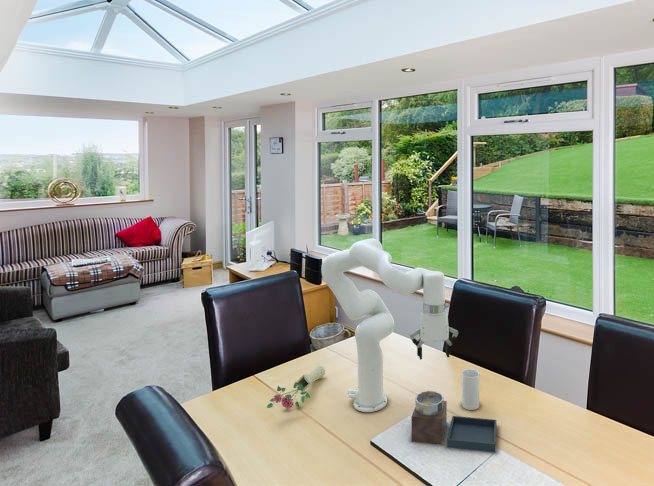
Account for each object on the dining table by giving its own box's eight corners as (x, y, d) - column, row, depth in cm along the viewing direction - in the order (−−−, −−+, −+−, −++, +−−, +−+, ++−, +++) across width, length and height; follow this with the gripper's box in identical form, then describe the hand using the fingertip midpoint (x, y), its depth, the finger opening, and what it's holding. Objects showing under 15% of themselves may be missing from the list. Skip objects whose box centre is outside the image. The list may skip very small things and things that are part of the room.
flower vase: (325, 398, 179) (291, 428, 145) (299, 387, 181) (259, 415, 147) (335, 369, 182) (304, 392, 148) (309, 358, 183) (273, 379, 150)
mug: (477, 412, 155) (476, 378, 155) (459, 408, 157) (459, 375, 158) (483, 398, 164) (483, 366, 165) (467, 395, 167) (466, 364, 167)
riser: (411, 441, 139) (411, 416, 139) (418, 421, 149) (418, 398, 150) (441, 444, 137) (441, 419, 137) (446, 424, 148) (446, 400, 148)
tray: (447, 447, 136) (447, 439, 136) (452, 422, 149) (452, 415, 149) (495, 452, 133) (495, 444, 133) (496, 427, 146) (496, 419, 146)
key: (422, 406, 144) (422, 404, 144) (423, 402, 146) (423, 401, 146) (436, 407, 143) (436, 405, 143) (437, 403, 145) (437, 402, 145)
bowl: (413, 415, 140) (413, 404, 140) (419, 399, 149) (419, 389, 149) (440, 417, 138) (440, 406, 138) (445, 402, 147) (445, 391, 147)
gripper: (455, 302, 155) (455, 350, 154) (408, 305, 152) (408, 354, 151) (460, 309, 147) (460, 359, 147) (410, 312, 144) (410, 363, 144)
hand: (434, 356), depth 149 cm, fingers open, 9 cm apart
